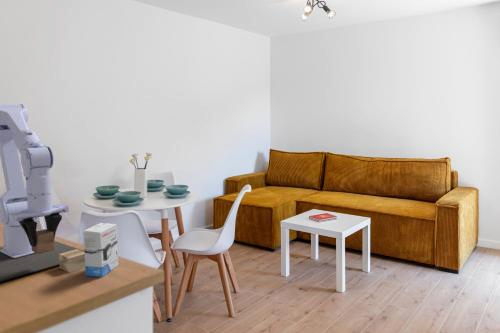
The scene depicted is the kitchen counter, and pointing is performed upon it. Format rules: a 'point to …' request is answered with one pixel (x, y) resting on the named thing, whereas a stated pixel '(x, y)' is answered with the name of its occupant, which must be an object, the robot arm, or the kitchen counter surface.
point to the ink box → (100, 249)
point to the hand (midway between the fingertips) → (42, 243)
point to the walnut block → (44, 241)
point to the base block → (72, 260)
